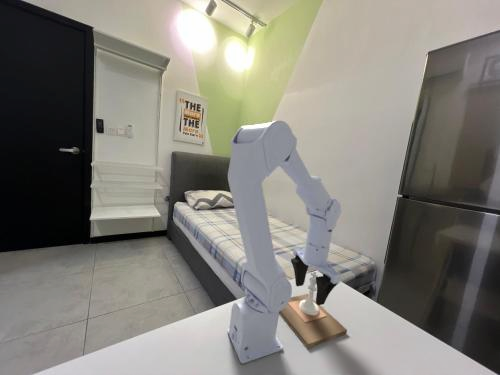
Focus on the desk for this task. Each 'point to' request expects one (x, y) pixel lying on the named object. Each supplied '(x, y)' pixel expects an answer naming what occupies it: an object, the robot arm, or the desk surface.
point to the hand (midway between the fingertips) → (309, 293)
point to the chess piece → (310, 298)
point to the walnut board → (311, 323)
